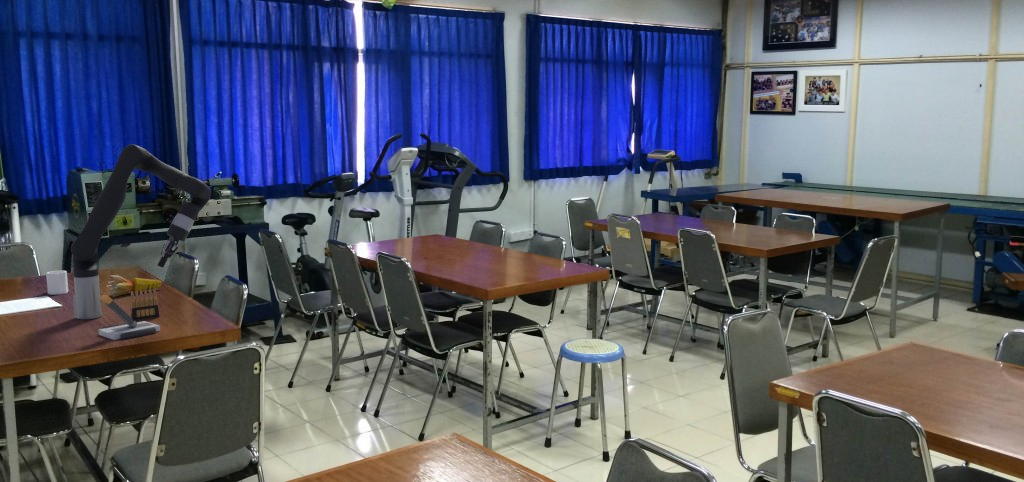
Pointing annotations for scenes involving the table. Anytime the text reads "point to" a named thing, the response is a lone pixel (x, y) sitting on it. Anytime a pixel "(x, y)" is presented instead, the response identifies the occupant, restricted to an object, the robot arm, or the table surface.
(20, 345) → the table surface
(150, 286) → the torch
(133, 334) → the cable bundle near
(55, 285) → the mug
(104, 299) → the lever
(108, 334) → the grey flat slab
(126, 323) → the grey bar
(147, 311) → the ammunition clip
